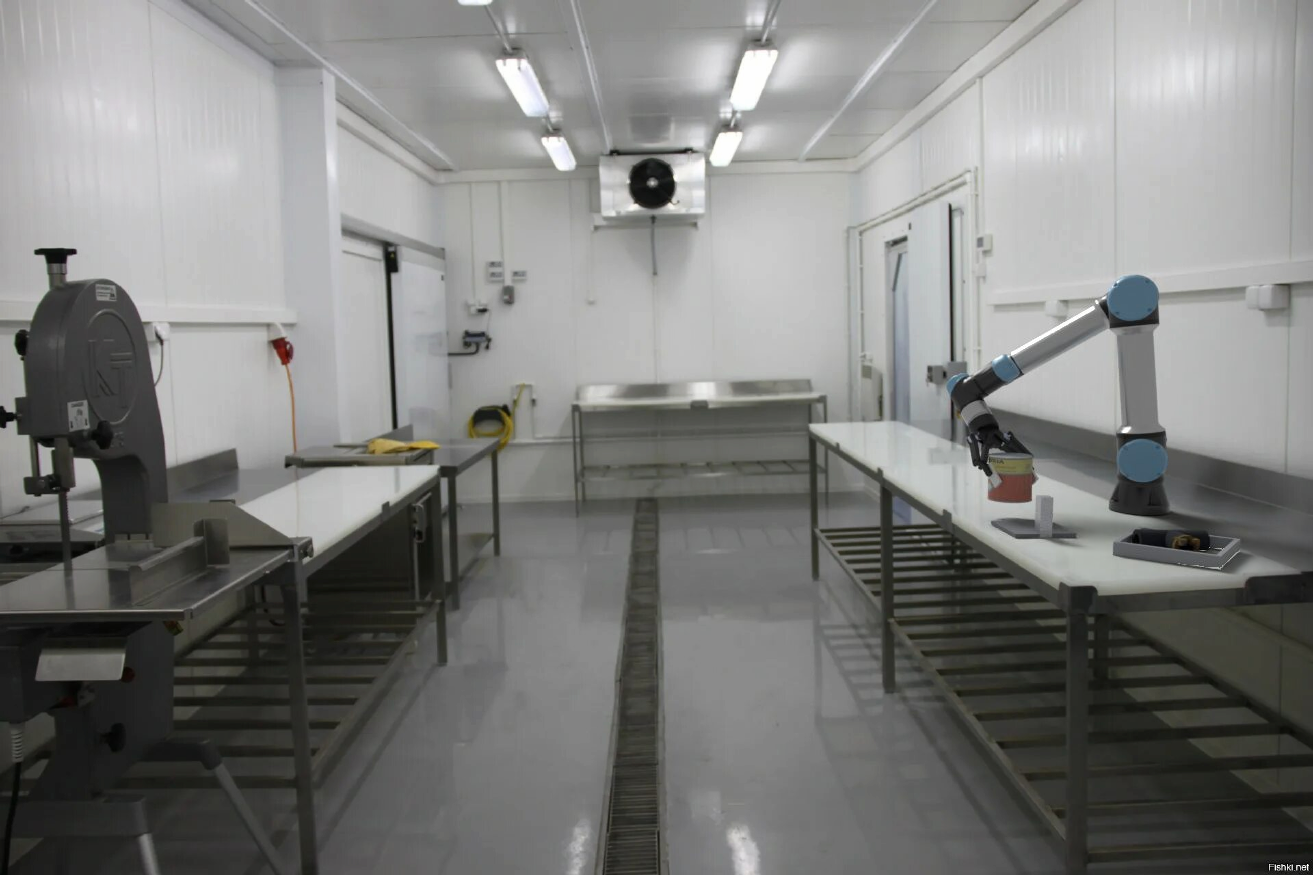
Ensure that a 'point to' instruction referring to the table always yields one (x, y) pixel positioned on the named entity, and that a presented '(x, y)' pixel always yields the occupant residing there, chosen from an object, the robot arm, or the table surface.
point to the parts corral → (1178, 551)
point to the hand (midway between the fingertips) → (1017, 483)
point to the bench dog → (1044, 515)
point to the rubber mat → (1029, 529)
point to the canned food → (1011, 477)
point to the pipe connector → (1173, 539)
